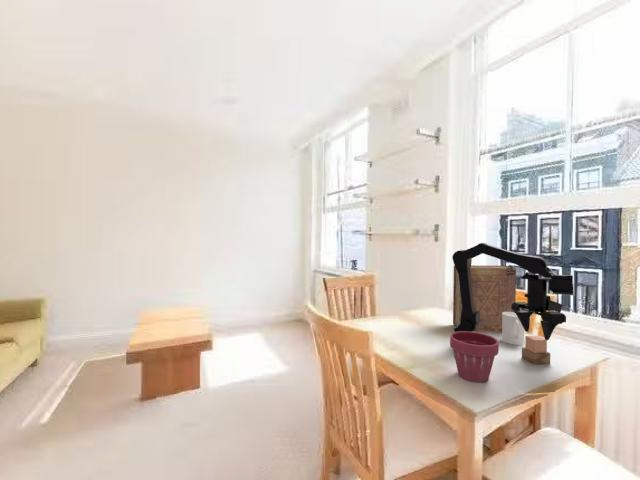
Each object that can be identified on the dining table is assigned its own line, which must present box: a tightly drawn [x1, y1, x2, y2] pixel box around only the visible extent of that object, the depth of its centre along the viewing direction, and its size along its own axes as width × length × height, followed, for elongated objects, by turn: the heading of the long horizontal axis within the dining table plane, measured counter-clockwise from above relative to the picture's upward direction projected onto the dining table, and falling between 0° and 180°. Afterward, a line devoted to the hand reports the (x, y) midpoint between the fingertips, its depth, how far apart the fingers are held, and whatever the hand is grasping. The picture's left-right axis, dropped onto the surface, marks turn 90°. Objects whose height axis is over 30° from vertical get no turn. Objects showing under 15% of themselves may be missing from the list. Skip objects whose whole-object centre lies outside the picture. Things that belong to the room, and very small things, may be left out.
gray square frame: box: [520, 357, 552, 367], centre depth 115 cm, size 8×8×1 cm
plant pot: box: [449, 331, 500, 383], centre depth 104 cm, size 14×14×13 cm
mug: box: [500, 312, 525, 346], centre depth 134 cm, size 12×8×12 cm
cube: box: [524, 335, 548, 353], centre depth 114 cm, size 4×4×4 cm
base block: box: [521, 347, 551, 366], centre depth 115 cm, size 6×6×4 cm
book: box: [452, 265, 517, 332], centre depth 155 cm, size 25×9×30 cm, turn 84°
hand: (536, 335), depth 114 cm, fingers open, 9 cm apart
